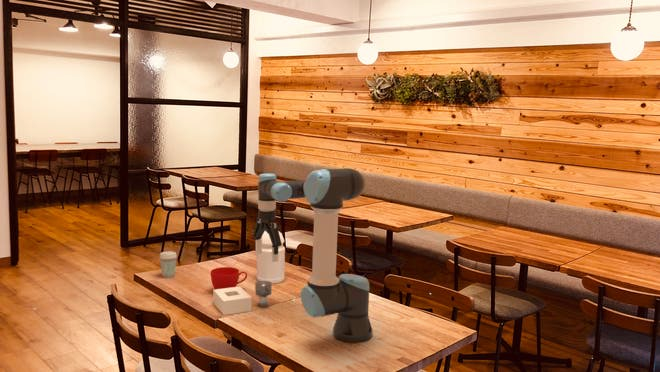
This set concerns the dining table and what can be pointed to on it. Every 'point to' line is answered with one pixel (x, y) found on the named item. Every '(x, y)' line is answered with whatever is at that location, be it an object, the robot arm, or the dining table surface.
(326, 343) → the dining table surface
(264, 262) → the bottle
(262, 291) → the pin
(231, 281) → the ceramic cup
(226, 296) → the block
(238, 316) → the dining table surface
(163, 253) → the coffee cup
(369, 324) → the robot arm
